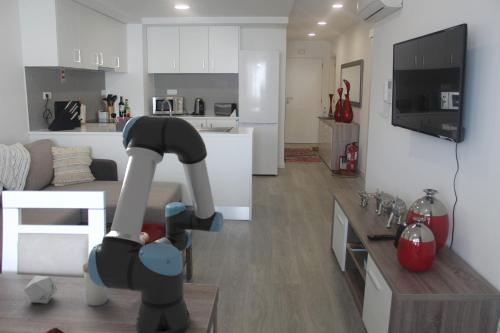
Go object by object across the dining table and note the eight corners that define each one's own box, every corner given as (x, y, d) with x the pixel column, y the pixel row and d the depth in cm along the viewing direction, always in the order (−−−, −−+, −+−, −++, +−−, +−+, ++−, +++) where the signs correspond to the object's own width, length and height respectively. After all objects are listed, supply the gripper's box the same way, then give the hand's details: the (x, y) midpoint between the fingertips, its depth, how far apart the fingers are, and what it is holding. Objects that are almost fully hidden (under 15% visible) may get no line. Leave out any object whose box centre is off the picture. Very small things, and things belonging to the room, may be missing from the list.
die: (33, 313, 127) (52, 286, 127) (13, 295, 129) (32, 269, 129) (49, 308, 135) (67, 283, 136) (30, 292, 137) (48, 267, 137)
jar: (113, 298, 135) (110, 264, 132) (94, 308, 129) (92, 272, 126) (99, 292, 138) (96, 258, 136) (81, 301, 133) (78, 266, 130)
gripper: (183, 269, 149) (137, 294, 131) (134, 252, 162) (87, 273, 145) (182, 249, 147) (136, 272, 130) (134, 234, 160) (85, 253, 143)
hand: (110, 272), depth 137 cm, fingers open, 13 cm apart
